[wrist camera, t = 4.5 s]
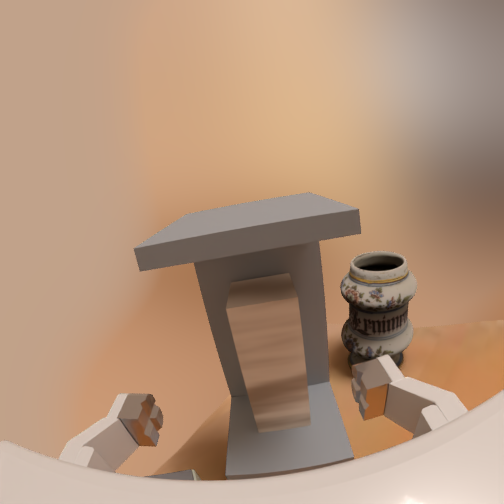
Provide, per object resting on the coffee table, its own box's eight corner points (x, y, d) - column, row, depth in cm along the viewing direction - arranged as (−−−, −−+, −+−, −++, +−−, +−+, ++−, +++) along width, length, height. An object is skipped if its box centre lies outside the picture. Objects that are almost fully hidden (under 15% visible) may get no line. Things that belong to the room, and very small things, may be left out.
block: (310, 425, 23) (297, 297, 19) (258, 432, 23) (225, 308, 19) (303, 391, 28) (288, 272, 24) (258, 399, 28) (230, 282, 24)
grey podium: (346, 495, 20) (358, 209, 13) (246, 509, 21) (133, 248, 13) (328, 423, 32) (309, 192, 24) (247, 436, 32) (186, 214, 25)
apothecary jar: (377, 393, 35) (383, 283, 30) (327, 360, 46) (320, 263, 41) (422, 355, 40) (432, 254, 35) (374, 332, 50) (373, 242, 46)
